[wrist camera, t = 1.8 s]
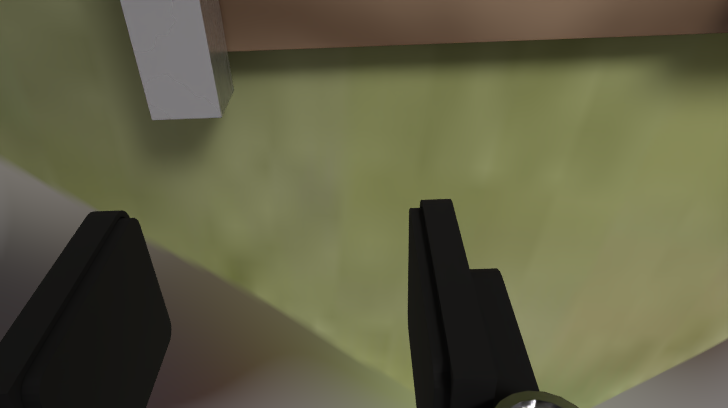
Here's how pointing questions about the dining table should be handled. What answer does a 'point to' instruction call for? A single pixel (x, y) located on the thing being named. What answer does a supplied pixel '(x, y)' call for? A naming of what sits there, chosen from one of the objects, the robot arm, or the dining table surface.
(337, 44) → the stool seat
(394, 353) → the dining table surface
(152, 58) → the folding leg
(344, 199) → the dining table surface
